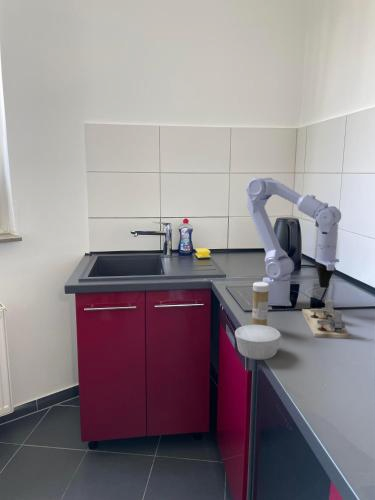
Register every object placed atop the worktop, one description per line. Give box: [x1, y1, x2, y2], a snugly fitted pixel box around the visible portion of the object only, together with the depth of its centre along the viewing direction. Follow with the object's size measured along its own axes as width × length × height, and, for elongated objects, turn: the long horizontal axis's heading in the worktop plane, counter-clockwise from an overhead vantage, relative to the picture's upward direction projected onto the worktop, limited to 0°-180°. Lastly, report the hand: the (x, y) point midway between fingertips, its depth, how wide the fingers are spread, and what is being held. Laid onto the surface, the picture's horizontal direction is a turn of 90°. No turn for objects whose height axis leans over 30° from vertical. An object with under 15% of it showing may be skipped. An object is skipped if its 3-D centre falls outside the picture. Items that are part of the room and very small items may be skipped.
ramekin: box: [234, 324, 282, 361], centre depth 99 cm, size 11×11×5 cm
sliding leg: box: [310, 298, 335, 318], centre depth 120 cm, size 7×3×5 cm, turn 84°
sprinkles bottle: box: [251, 281, 269, 326], centre depth 114 cm, size 5×5×14 cm
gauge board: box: [301, 308, 350, 339], centre depth 118 cm, size 9×20×2 cm, turn 174°
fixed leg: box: [317, 309, 346, 331], centre depth 110 cm, size 7×3×5 cm, turn 84°
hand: (323, 287), depth 126 cm, fingers closed
